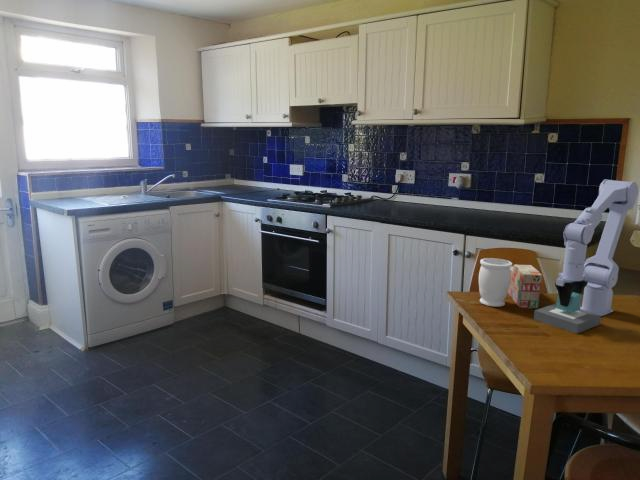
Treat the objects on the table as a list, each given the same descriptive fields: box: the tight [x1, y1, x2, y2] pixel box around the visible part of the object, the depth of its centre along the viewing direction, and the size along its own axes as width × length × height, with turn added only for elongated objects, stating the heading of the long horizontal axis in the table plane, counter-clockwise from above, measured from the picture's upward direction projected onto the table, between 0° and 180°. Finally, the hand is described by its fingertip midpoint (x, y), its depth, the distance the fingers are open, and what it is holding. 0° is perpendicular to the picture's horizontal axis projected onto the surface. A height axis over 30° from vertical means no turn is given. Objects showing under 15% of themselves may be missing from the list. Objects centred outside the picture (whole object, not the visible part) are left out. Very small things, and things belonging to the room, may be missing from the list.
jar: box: [478, 257, 513, 308], centre depth 174 cm, size 11×10×15 cm
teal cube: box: [556, 292, 583, 313], centre depth 158 cm, size 5×5×5 cm
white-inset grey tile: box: [533, 302, 602, 335], centre depth 159 cm, size 14×14×3 cm
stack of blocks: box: [507, 264, 543, 309], centre depth 180 cm, size 21×6×12 cm, turn 174°
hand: (568, 304), depth 158 cm, fingers closed on teal cube, 5 cm apart
